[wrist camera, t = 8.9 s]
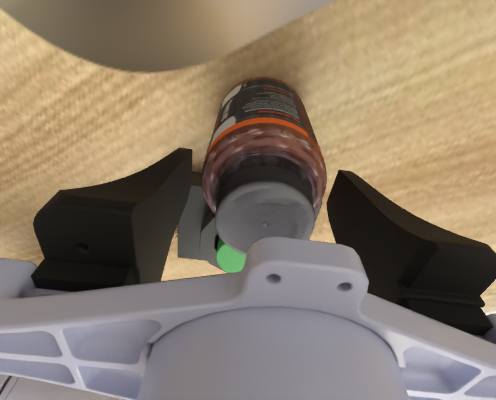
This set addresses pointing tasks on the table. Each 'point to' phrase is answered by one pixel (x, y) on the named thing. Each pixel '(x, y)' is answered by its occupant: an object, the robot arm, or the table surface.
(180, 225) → the control box
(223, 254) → the button
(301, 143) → the supplement bottle
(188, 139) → the table surface
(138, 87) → the table surface
